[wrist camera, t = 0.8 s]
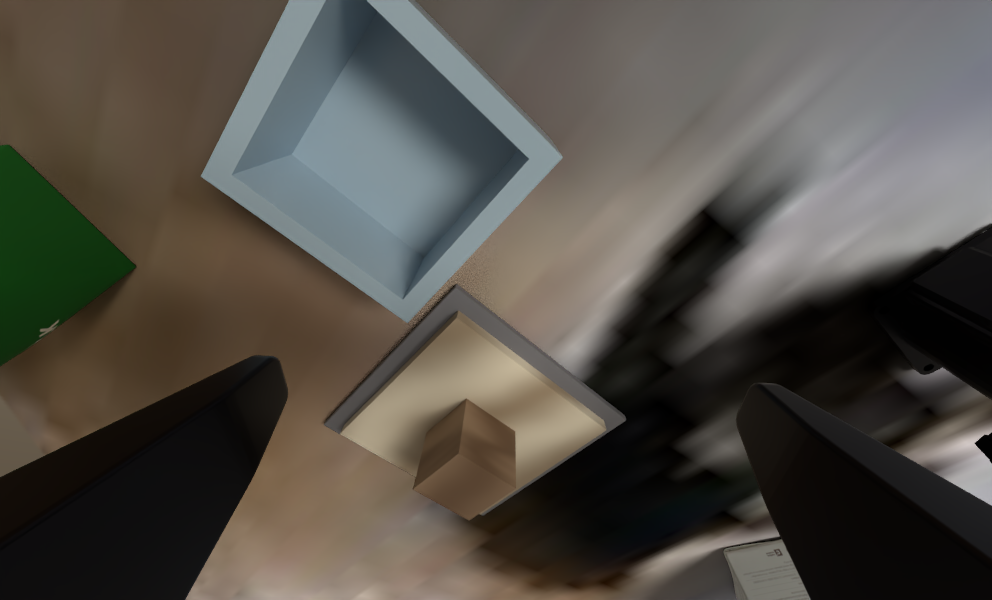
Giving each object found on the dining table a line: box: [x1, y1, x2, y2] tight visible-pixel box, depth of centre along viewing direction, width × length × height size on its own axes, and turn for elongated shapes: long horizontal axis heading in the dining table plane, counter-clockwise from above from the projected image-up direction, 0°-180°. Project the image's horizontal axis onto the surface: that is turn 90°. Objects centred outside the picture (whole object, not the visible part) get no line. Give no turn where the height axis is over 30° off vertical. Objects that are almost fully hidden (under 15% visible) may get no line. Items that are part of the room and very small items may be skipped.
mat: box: [324, 284, 626, 516], centre depth 26 cm, size 14×14×1 cm
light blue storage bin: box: [201, 0, 563, 323], centre depth 16 cm, size 9×9×5 cm
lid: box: [340, 310, 606, 520], centre depth 24 cm, size 12×12×5 cm
